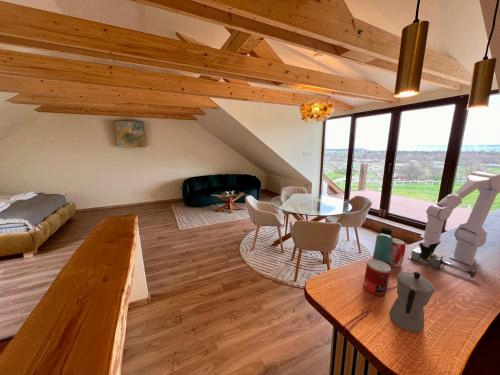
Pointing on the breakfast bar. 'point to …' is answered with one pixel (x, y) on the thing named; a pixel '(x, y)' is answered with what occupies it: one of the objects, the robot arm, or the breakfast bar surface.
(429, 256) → the block
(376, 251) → the beverage bottle
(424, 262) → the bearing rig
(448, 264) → the shaft
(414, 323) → the coffeepot
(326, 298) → the breakfast bar surface
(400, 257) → the soda can
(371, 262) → the canned food
